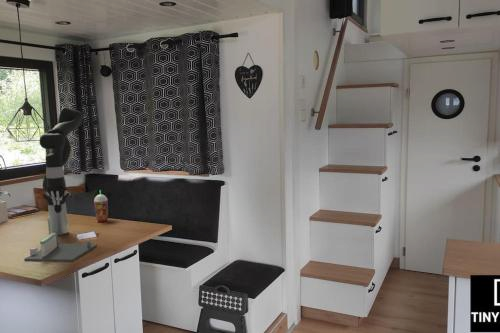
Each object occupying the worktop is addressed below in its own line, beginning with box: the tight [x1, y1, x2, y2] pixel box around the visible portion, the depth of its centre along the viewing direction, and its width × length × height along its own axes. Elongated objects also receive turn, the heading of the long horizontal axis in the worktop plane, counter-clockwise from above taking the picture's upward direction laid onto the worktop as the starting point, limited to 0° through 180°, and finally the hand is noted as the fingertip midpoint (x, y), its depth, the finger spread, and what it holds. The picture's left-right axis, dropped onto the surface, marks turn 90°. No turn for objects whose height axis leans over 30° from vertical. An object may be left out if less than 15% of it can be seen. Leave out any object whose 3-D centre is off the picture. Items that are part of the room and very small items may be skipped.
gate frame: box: [23, 230, 98, 263], centre depth 210 cm, size 25×23×10 cm
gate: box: [39, 233, 57, 256], centre depth 209 cm, size 15×2×7 cm, turn 4°
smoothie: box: [93, 189, 109, 223], centre depth 273 cm, size 8×8×20 cm
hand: (58, 212), depth 205 cm, fingers closed
